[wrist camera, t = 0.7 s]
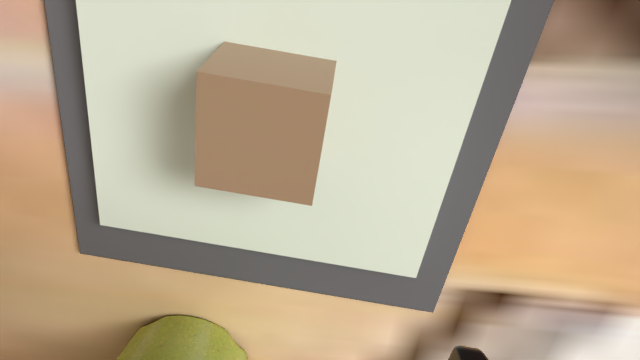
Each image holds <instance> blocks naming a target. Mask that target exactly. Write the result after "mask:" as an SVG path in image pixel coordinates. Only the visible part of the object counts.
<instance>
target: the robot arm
mask: <svg viewBox="0 0 640 360" xmlns="http://www.w3.org/2000/svg"><path fill="white" fill-rule="evenodd" d="M448 360H488V358H487V357H486V356H485V354H484V353H483V352H482V351H481V350H479V349H476V348H471V347H465V346H456V347H455V348H454V349H453V351H452V353H451V355H450V357H449V359H448Z"/></svg>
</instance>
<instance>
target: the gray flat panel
mask: <svg viewBox="0 0 640 360" xmlns="http://www.w3.org/2000/svg"><path fill="white" fill-rule="evenodd" d="M44 2H45V9H46V16H47V23H48V31H49V38H50V45H51V52H52V59H53V66H54V73H55V80H56V87H57V94H58V101H59V108H60V116H61V123H62V130H63V137H64V144H65V151H66V158H67V165H68V172H69V179H70V186H71V193H72V200H73V208H74V215H75V222H76V229H77V236H78V243H79V250H80V253H81V254H87V255H93V256H99V257H105V258H111V259H117V260H123V261H129V262H135V263H141V264H147V265H153V266H159V267H165V268H171V269H177V270H183V271H188V272H194V273H200V274H206V275H212V276H218V277H224V278H230V279H236V280H242V281H248V282H254V283H260V284H266V285H272V286H278V287H284V288H290V289H296V290H302V291H308V292H314V293H320V294H326V295H332V296H338V297H344V298H350V299H356V300H362V301H368V302H374V303H380V304H385V305H391V306H397V307H403V308H409V309H415V310H421V311H427V312H433V311H434V309H435V306H436V304H437V301H438V298H439V296H440V293H441V291H442V288H443V286H444V283H445V280H446V278H447V275H448V273H449V270H450V267H451V265H452V262H453V260H454V257H455V255H456V252H457V249H458V247H459V244H460V242H461V239H462V236H463V234H464V231H465V229H466V226H467V224H468V221H469V218H470V216H471V213H472V211H473V208H474V206H475V203H476V200H477V198H478V195H479V193H480V190H481V187H482V185H483V182H484V180H485V177H486V175H487V172H488V169H489V167H490V164H491V162H492V159H493V157H494V154H495V151H496V149H497V146H498V144H499V141H500V138H501V136H502V133H503V131H504V128H505V126H506V123H507V120H508V118H509V115H510V113H511V110H512V107H513V105H514V102H515V100H516V97H517V95H518V92H519V89H520V87H521V84H522V82H523V79H524V77H525V74H526V71H527V69H528V66H529V64H530V61H531V58H532V56H533V53H534V51H535V48H536V46H537V43H538V40H539V38H540V35H541V33H542V30H543V28H544V25H545V22H546V20H547V17H548V15H549V12H550V9H551V7H552V4H553V2H554V0H511V3H510V6H509V9H508V12H507V15H506V17H505V20H504V23H503V26H502V29H501V32H500V35H499V38H498V41H497V44H496V47H495V49H494V52H493V55H492V58H491V61H490V64H489V67H488V70H487V73H486V76H485V79H484V82H483V84H482V87H481V90H480V93H479V96H478V99H477V102H476V105H475V108H474V111H473V114H472V116H471V119H470V122H469V125H468V128H467V131H466V134H465V137H464V140H463V143H462V146H461V149H460V151H459V154H458V157H457V160H456V163H455V166H454V169H453V172H452V175H451V178H450V181H449V183H448V186H447V189H446V192H445V195H444V198H443V201H442V204H441V207H440V210H439V213H438V215H437V218H436V221H435V224H434V227H433V230H432V233H431V236H430V239H429V242H428V245H427V248H426V250H425V253H424V256H423V259H422V262H421V265H420V268H419V271H418V274H417V277H416V278H412V277H406V276H400V275H394V274H388V273H383V272H377V271H371V270H365V269H359V268H353V267H347V266H341V265H335V264H329V263H323V262H317V261H311V260H305V259H299V258H293V257H287V256H282V255H276V254H270V253H264V252H258V251H252V250H246V249H240V248H234V247H228V246H222V245H216V244H210V243H204V242H198V241H192V240H186V239H181V238H175V237H169V236H163V235H157V234H151V233H145V232H139V231H133V230H127V229H121V228H115V227H109V226H103V225H100V219H99V210H98V201H97V192H96V183H95V173H94V164H93V155H92V146H91V137H90V127H89V118H88V109H87V100H86V90H85V81H84V72H83V63H82V54H81V44H80V35H79V26H78V17H77V8H76V0H44Z"/></svg>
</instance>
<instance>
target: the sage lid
mask: <svg viewBox="0 0 640 360" xmlns="http://www.w3.org/2000/svg"><path fill="white" fill-rule="evenodd" d="M510 3H511V0H76V8H77V17H78V26H79V35H80V44H81V54H82V63H83V72H84V81H85V90H86V100H87V109H88V118H89V127H90V137H91V146H92V155H93V164H94V173H95V183H96V192H97V201H98V210H99V219H100V225H103V226H109V227H115V228H121V229H127V230H133V231H139V232H145V233H151V234H157V235H163V236H169V237H175V238H181V239H186V240H192V241H198V242H204V243H210V244H216V245H222V246H228V247H234V248H240V249H246V250H252V251H258V252H264V253H270V254H276V255H282V256H287V257H293V258H299V259H305V260H311V261H317V262H323V263H329V264H335V265H341V266H347V267H353V268H359V269H365V270H371V271H377V272H383V273H388V274H394V275H400V276H406V277H412V278H416V277H417V274H418V271H419V268H420V265H421V262H422V259H423V256H424V253H425V250H426V248H427V245H428V242H429V239H430V236H431V233H432V230H433V227H434V224H435V221H436V218H437V215H438V213H439V210H440V207H441V204H442V201H443V198H444V195H445V192H446V189H447V186H448V183H449V181H450V178H451V175H452V172H453V169H454V166H455V163H456V160H457V157H458V154H459V151H460V149H461V146H462V143H463V140H464V137H465V134H466V131H467V128H468V125H469V122H470V119H471V116H472V114H473V111H474V108H475V105H476V102H477V99H478V96H479V93H480V90H481V87H482V84H483V82H484V79H485V76H486V73H487V70H488V67H489V64H490V61H491V58H492V55H493V52H494V49H495V47H496V44H497V41H498V38H499V35H500V32H501V29H502V26H503V23H504V20H505V17H506V15H507V12H508V9H509V6H510Z"/></svg>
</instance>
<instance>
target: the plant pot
mask: <svg viewBox="0 0 640 360" xmlns="http://www.w3.org/2000/svg"><path fill="white" fill-rule="evenodd" d="M116 360H248V357H247V354H246V352H245V350H244V349H242V348H240V347H239V346H238V345H237V344H236V343H235V341H234V340H233V339H232V338H231V336H230V335H229V333H228V332H227V331H226V330H225V329H224V328H222V327H220V326H218V325H216V324H214V323H212V322H209V321H207V320H204V319H200V318H196V317H190V316H181V315H179V316H166V317H163V318H161V319H159V320H157V321H155V322H153V323H151V324H149V325H146V326H143V327H141V328H140V329H139V330H138V331H137V332H136V333H135V335H134V336H133V337H132V339H131V340H130V341H129V343H128V344H127V345H126V347H125V348H124V350H123V351H122V352H121V354H120V355H119V356H118V358H117V359H116Z"/></svg>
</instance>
